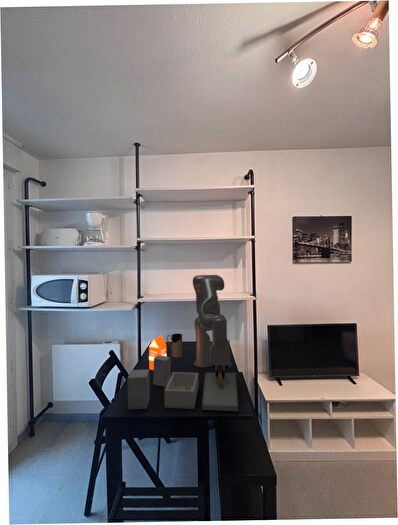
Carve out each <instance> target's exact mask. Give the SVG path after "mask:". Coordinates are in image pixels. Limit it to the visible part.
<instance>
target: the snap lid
mask: <svg viewBox="0 0 398 525" xmlns="http://www.w3.org/2000/svg"><path fill="white" fill-rule="evenodd" d="M203 383H204V384H203V392H202V399H201V400H202V401H201V410H202V411H220V412H221V411H223V412H225V411H226V412H239V397H238V386H237V372H225V377H224V379H222V371H218V379H217V377H216V371H215V372H214V371H213V372H212V371H206V372H205V373H204V380H203Z"/></svg>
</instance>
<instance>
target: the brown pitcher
mask: <svg viewBox="0 0 398 525" xmlns="http://www.w3.org/2000/svg"><path fill="white" fill-rule="evenodd" d="M169 337H170V341H171V344H170V342H169ZM166 340H167V344H168V346H169V347H170V349H171V358H172V357H173V358H181V357H183V356H184V354H183V352H184V351H183V334H182V333H173V334H167V336H166Z"/></svg>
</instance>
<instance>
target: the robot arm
mask: <svg viewBox="0 0 398 525" xmlns="http://www.w3.org/2000/svg"><path fill="white" fill-rule="evenodd" d="M192 285H193V289H194V292H195V309H196V313H197V315H198V317H196V318H195V319H194V322H193V323H194V328H195V346H196V347H195V348H196V349H195V350H196V351H195V353H196V355H195V356H196V358H195V360H194V361H193V365H194V366H196V367H198V368H210V367H211V368H212V369H213V370H214V371H215V372H216V377H217V379H218V372H219V368H218V366H222V368H221V372H222V379H224V377H225V373H226V370H228V368H231V367H233V363H232V361H231V355H230V354H231V353H230V352H231V351H230V345H229V343H230V342H231V340H230V339H228V332H227V331H228V324H227V323H228V322H227V318H226V317H225V316H224V315H223V314H221V307H220V302H219V301H218V300H219V296H218V292H217V291H223V290H224V289H225V281H224V278H223V277H221V276H220V275H218V274H209V275H208V274H198V275H195V276H193V277H192ZM210 331H211V332H212V333H211V334H212V336H210V335H209V334H208V333H207V332H210ZM211 337H212V339H211ZM211 341H212V343H211Z"/></svg>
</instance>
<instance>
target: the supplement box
mask: <svg viewBox="0 0 398 525" xmlns="http://www.w3.org/2000/svg"><path fill="white" fill-rule="evenodd" d="M150 389H151V388H150V369H131V371H130V373H129V375H128V377H127V409H128V410H143V409H144V410H146V409H147V408H148V406H149V402H150V399H151V397H150V396H151V395H150V391H151V390H150Z"/></svg>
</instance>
